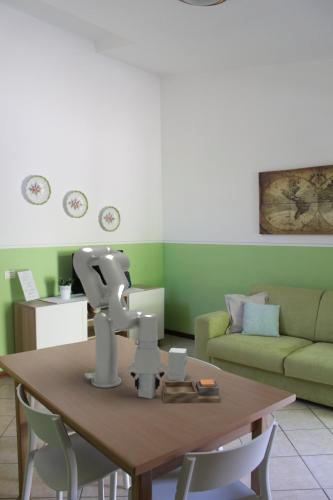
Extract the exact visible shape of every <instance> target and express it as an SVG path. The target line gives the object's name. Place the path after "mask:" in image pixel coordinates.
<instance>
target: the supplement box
mask: <svg viewBox="0 0 333 500" xmlns="http://www.w3.org/2000/svg"><path fill="white" fill-rule="evenodd" d="M167 357H168V367H167V368H168V370H167V381H185V378H186V376H187V363H188V362H187V357H188V349H187V348H181V347H180V348H177V347H171V348H170V349H169V351H168V356H167Z"/></svg>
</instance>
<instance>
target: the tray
mask: <svg viewBox="0 0 333 500" xmlns="http://www.w3.org/2000/svg"><path fill="white" fill-rule="evenodd" d="M213 382H214V384H215V387H201V386H200V380H195V381H194V380H184V381H174V380H165V381H164V380H162V382H161V383H162V385H160V390H161V397H162V403H163V404H180V403H181V404H182V403H185V404H187V403H189V404H191V403H193V404H194V403H195V404H196V403H197V404H199V403H200V404H201V403H221V397H220V387H219V385H218V384H217V382H216V380H213Z"/></svg>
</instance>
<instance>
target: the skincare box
mask: <svg viewBox="0 0 333 500" xmlns="http://www.w3.org/2000/svg"><path fill="white" fill-rule="evenodd" d="M156 377H157V376H156V374H152V369H150V374H140V375H139V376H138V378H139V385H138V393H137V394H138V397H142V398H144V399H145V398H147V399H151V400H152V399H154V397H156V396H157V389H156Z"/></svg>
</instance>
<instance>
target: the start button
mask: <svg viewBox="0 0 333 500" xmlns="http://www.w3.org/2000/svg"><path fill="white" fill-rule="evenodd" d="M199 381H200V386H201V387H215V384H214V382H213V381H214V380H213V379H199Z"/></svg>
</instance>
